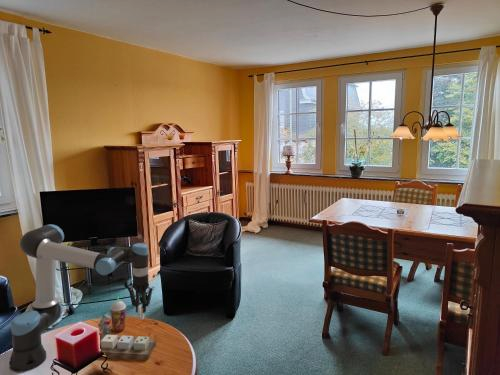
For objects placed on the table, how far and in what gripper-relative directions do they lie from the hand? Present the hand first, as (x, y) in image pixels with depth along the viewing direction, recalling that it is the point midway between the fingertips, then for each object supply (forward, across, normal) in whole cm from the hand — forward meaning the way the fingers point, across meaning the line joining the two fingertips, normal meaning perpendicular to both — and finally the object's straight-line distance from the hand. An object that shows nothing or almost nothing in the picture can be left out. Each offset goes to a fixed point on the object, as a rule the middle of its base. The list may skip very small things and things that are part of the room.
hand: (141, 318), depth 173 cm
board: (+18, -8, 0) cm, 20 cm away
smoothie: (+19, -20, +19) cm, 34 cm away
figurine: (+19, -24, +10) cm, 32 cm away
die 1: (+16, -17, 0) cm, 24 cm away
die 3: (+16, 0, 0) cm, 16 cm away
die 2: (+16, -8, 0) cm, 18 cm away
